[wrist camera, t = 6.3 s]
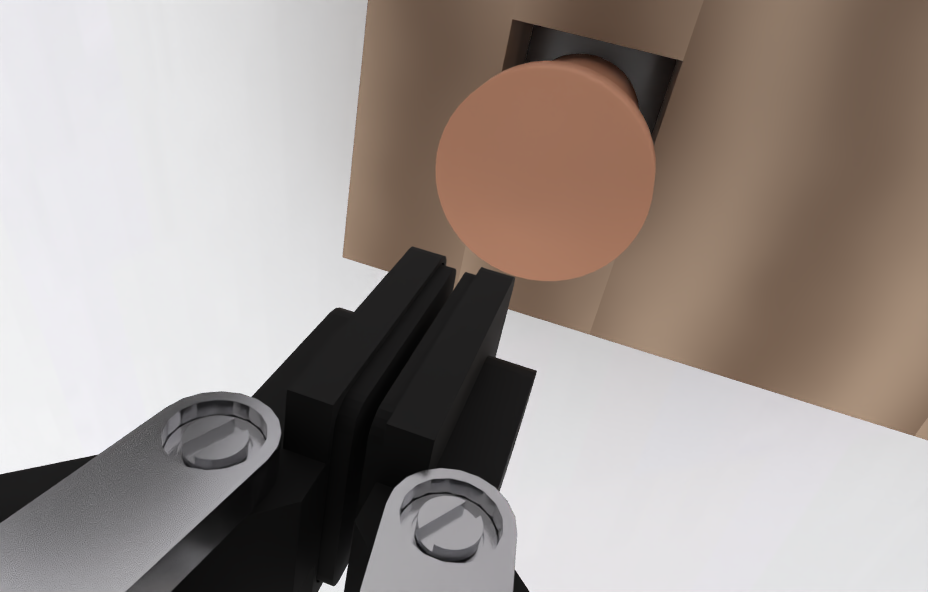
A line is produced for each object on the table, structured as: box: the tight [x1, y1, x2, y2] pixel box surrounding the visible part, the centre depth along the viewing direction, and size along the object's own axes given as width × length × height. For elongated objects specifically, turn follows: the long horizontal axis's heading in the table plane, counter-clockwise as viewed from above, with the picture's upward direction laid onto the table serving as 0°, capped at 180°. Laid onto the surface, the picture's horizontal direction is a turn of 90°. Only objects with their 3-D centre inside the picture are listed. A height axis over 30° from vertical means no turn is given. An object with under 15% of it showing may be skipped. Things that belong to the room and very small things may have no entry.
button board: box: [343, 0, 928, 440], centre depth 21 cm, size 30×14×4 cm, turn 79°
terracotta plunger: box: [435, 54, 656, 281], centre depth 19 cm, size 5×5×6 cm
